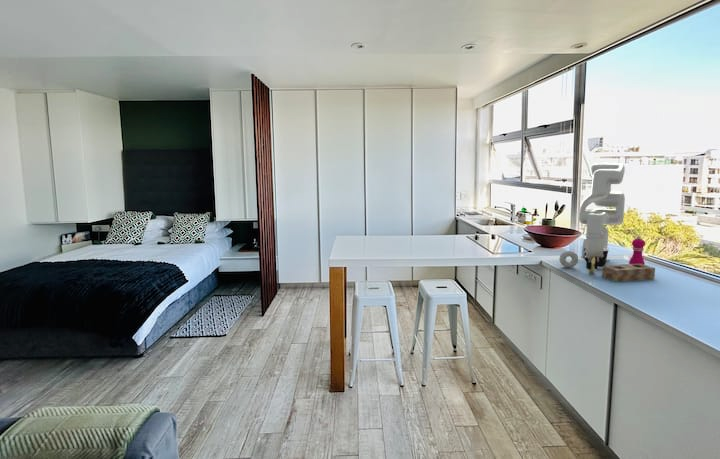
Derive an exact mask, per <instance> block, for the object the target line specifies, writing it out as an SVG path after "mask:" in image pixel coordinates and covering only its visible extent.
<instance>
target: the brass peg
mask: <svg viewBox="0 0 720 459" xmlns="http://www.w3.org/2000/svg"><path fill="white" fill-rule="evenodd" d="M595 259H596V257H591V263H592V265H591V270H589V269H587V270H588V271H587V273H588V274H589V275H595V271H596V269H595Z"/></svg>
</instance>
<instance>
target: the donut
mask: <svg viewBox="0 0 720 459" xmlns="http://www.w3.org/2000/svg"><path fill="white" fill-rule="evenodd" d="M567 257H568V258H569V257H570V258H571V261H570V260H569V261H567ZM578 262H579V256H578V254H577V253H576V252H574V251H573V250H565V251H563V252H562V253H561V254H560V255H559V263H560V265H561V266H563V267H564V268H573V267H575V266H576V265H577V264H578Z"/></svg>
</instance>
